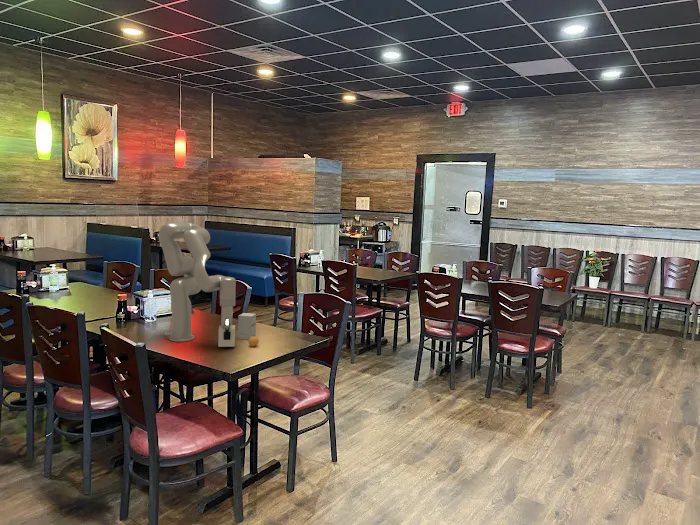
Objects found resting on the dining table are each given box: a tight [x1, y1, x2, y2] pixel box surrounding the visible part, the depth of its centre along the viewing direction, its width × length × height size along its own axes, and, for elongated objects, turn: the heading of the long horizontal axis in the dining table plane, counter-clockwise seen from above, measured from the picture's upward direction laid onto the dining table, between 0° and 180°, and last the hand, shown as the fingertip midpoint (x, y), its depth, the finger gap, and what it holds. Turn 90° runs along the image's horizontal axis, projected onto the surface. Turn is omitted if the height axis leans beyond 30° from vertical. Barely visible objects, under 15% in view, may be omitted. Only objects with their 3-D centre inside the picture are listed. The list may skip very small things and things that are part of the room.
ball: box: [247, 336, 260, 347], centre depth 272 cm, size 5×5×5 cm
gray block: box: [217, 324, 236, 348], centre depth 269 cm, size 8×8×9 cm
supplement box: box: [237, 312, 257, 341], centre depth 287 cm, size 7×7×13 cm
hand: (227, 337), depth 269 cm, fingers closed on gray block, 7 cm apart
